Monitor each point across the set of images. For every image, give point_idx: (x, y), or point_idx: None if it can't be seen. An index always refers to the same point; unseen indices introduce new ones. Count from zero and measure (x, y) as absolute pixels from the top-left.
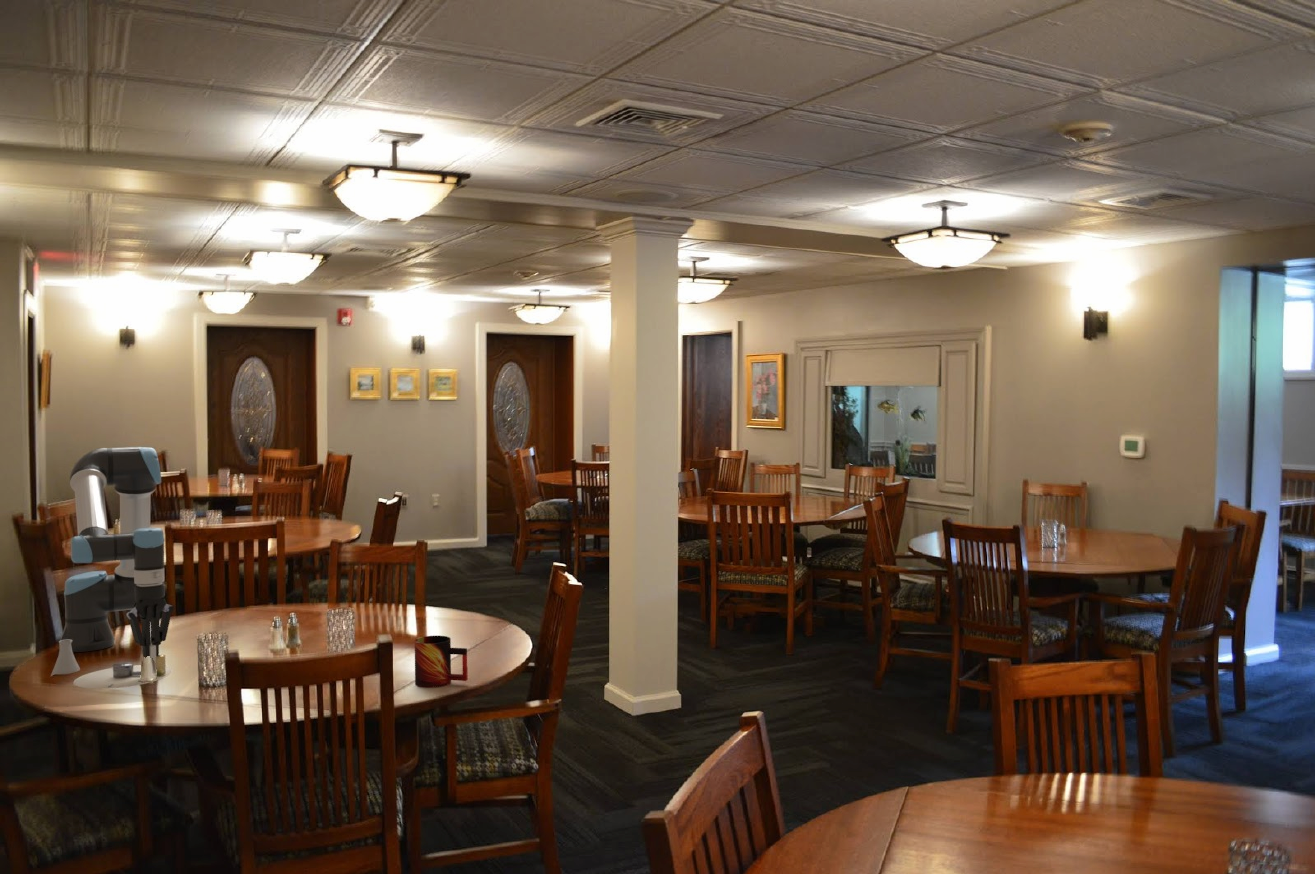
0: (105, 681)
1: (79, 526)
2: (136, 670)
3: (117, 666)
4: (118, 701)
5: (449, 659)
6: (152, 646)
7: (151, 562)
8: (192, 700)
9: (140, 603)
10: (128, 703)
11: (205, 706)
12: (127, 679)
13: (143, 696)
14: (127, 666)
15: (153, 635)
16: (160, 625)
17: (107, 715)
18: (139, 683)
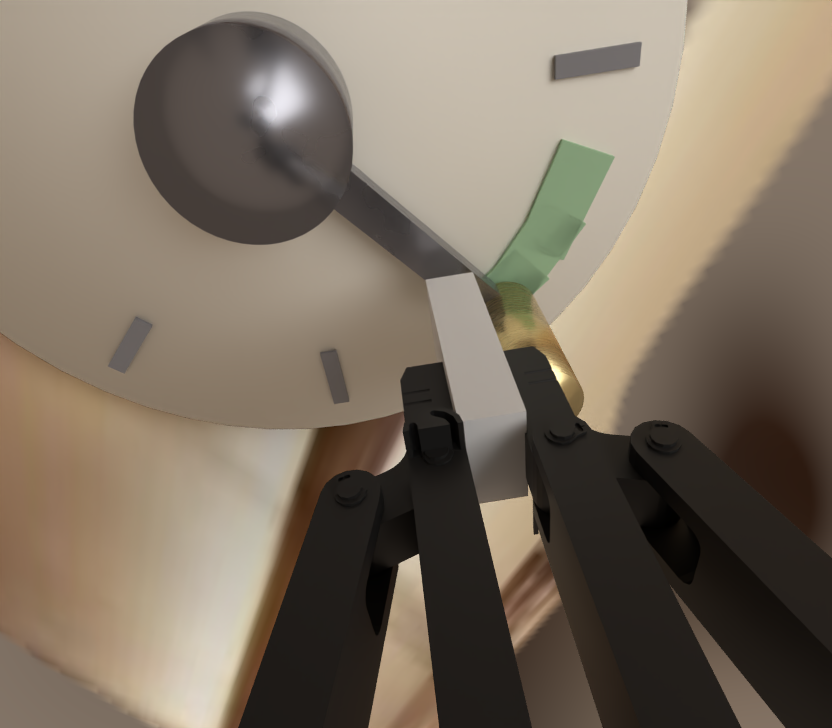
0: (94, 182)
1: None
2: None
3: (179, 187)
4: (160, 540)
5: None
6: (486, 497)
7: None
8: (423, 654)
9: None
10: (199, 583)
11: (422, 708)
12: (270, 251)
13: (285, 533)
14: (273, 239)
15: (558, 563)
16: (777, 620)
17: (99, 658)
18: (312, 406)
